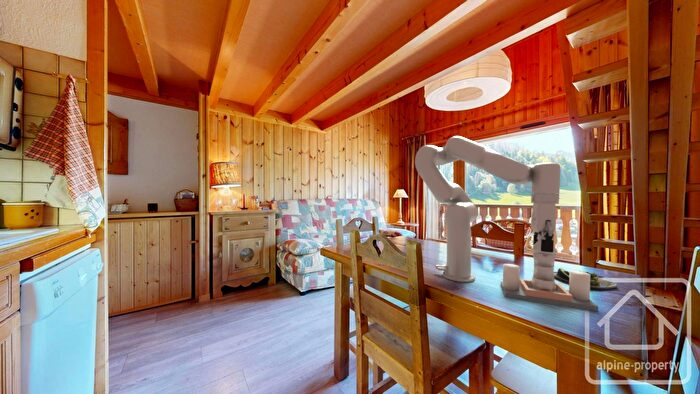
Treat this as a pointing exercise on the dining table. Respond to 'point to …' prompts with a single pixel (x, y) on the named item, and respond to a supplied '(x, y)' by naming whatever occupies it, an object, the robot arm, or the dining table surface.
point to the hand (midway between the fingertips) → (542, 248)
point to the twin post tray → (571, 298)
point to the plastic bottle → (543, 268)
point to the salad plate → (594, 280)
